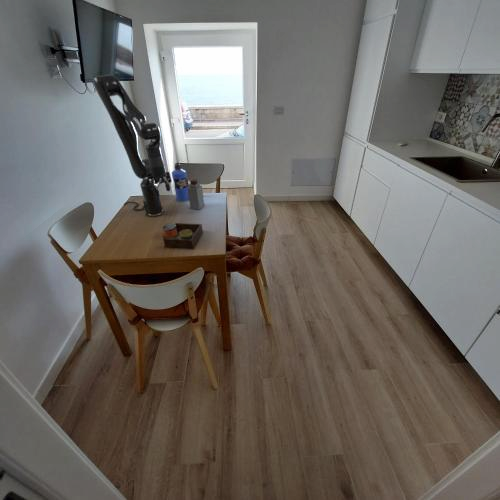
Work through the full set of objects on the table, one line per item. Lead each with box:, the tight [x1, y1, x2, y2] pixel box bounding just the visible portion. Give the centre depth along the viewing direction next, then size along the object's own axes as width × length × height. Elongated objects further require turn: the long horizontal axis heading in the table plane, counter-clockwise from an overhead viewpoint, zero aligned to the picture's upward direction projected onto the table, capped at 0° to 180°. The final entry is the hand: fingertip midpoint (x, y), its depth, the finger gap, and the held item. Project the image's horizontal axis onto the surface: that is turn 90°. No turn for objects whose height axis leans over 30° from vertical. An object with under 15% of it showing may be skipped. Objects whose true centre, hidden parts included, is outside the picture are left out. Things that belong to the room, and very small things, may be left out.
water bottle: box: [171, 162, 189, 202], centre depth 184 cm, size 9×9×25 cm
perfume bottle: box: [187, 178, 205, 210], centre depth 174 cm, size 7×7×18 cm
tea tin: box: [179, 229, 193, 240], centre depth 140 cm, size 6×6×7 cm
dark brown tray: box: [163, 222, 204, 250], centre depth 144 cm, size 15×17×5 cm
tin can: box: [162, 223, 178, 239], centre depth 148 cm, size 7×7×6 cm
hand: (163, 193), depth 153 cm, fingers open, 8 cm apart
